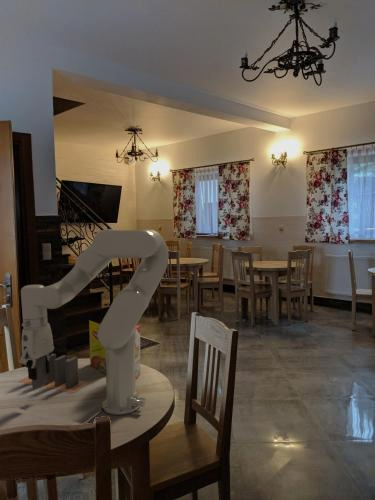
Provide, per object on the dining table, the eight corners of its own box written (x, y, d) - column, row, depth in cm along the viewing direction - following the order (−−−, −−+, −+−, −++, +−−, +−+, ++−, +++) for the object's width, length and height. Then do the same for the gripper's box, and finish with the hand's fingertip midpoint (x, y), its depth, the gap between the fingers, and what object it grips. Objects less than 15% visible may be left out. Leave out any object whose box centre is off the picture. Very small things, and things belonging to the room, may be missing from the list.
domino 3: (67, 381, 144) (66, 355, 144) (58, 386, 140) (57, 360, 139) (64, 380, 145) (63, 355, 144) (54, 386, 140) (54, 359, 140)
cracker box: (129, 392, 137) (128, 335, 135) (113, 391, 138) (112, 334, 137) (141, 377, 151) (140, 324, 149) (127, 375, 152) (126, 324, 150)
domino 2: (56, 379, 146) (56, 354, 146) (47, 384, 142) (46, 358, 141) (53, 379, 147) (52, 353, 146) (44, 384, 142) (43, 357, 142)
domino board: (88, 385, 143) (88, 382, 143) (73, 395, 135) (73, 392, 135) (34, 375, 153) (34, 373, 153) (17, 384, 145) (17, 381, 145)
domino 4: (78, 383, 143) (77, 357, 142) (69, 389, 138) (68, 361, 137) (74, 382, 143) (74, 356, 142) (66, 388, 138) (65, 361, 138)
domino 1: (47, 382, 130) (45, 354, 130) (36, 388, 126) (34, 359, 125) (43, 382, 131) (41, 353, 130) (32, 388, 126) (30, 358, 126)
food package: (89, 367, 162) (88, 320, 160) (91, 366, 162) (90, 319, 161) (108, 377, 150) (106, 327, 149) (110, 376, 151) (109, 327, 150)
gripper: (24, 330, 117) (28, 387, 119) (62, 316, 133) (65, 367, 134) (6, 328, 120) (10, 384, 122) (45, 315, 136) (48, 365, 137)
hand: (39, 375), depth 128 cm, fingers closed on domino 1, 4 cm apart
